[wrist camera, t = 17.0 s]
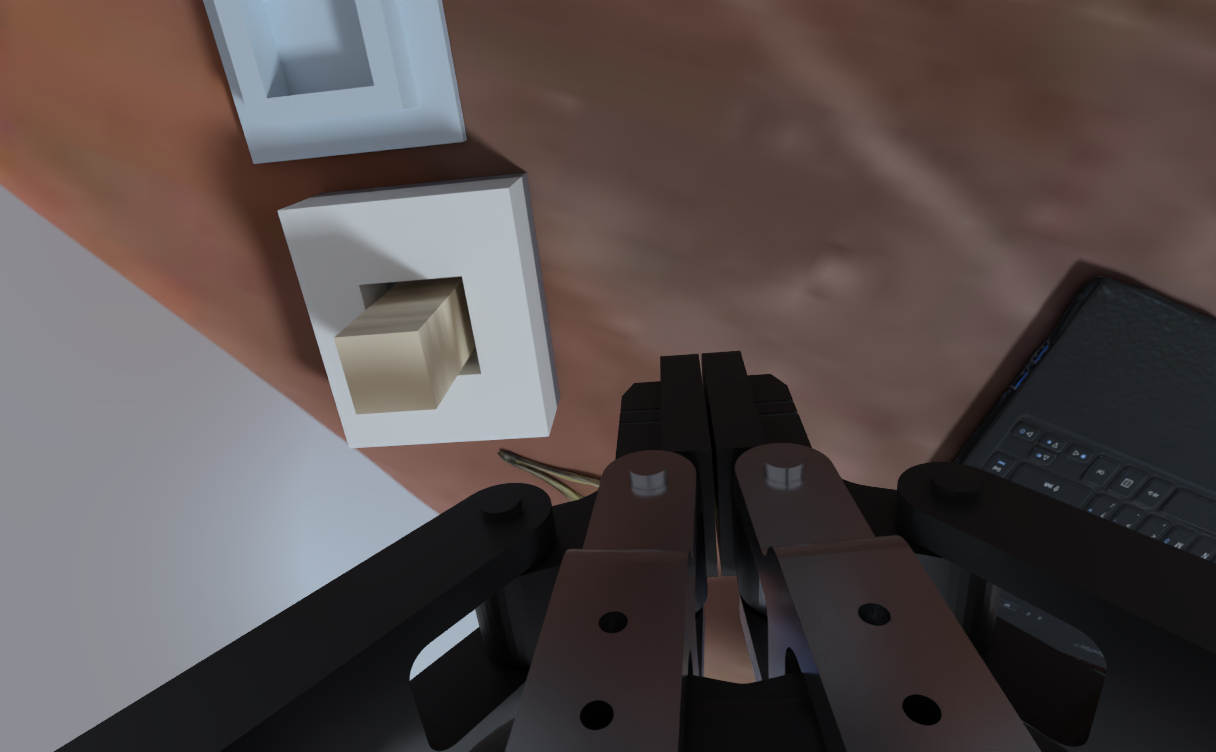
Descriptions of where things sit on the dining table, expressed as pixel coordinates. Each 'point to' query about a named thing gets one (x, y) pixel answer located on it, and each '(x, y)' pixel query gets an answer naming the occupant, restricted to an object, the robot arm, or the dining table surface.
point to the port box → (427, 249)
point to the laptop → (1112, 429)
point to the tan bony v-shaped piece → (535, 467)
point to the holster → (338, 75)
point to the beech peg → (407, 346)
